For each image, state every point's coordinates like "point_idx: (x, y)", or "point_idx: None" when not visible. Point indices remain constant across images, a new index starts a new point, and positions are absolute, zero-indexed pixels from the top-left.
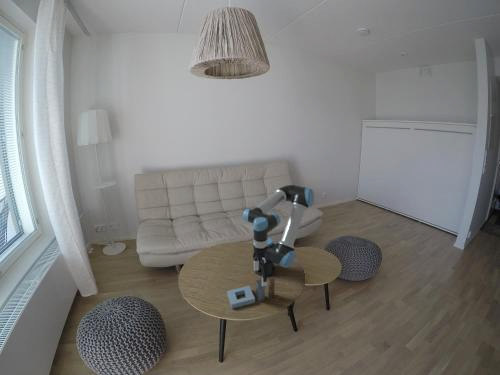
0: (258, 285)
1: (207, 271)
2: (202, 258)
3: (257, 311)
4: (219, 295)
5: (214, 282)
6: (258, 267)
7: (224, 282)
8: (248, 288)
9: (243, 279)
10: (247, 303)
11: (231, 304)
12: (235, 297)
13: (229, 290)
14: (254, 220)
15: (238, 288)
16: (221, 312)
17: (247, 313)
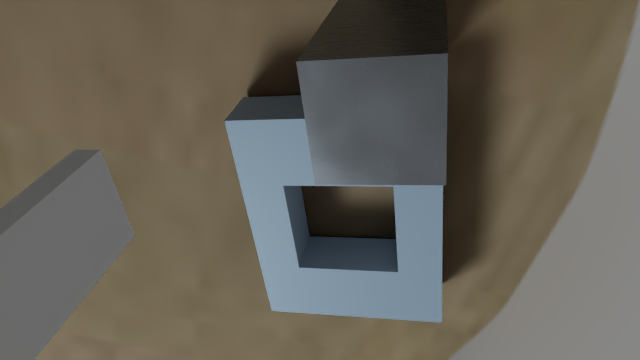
0: (445, 177)
1: None
2: None
3: (570, 95)
4: (277, 319)
5: (141, 317)
6: (52, 197)
7: (140, 263)
8: (266, 140)
9: (93, 114)
10: None
11: (440, 321)
12: (367, 277)
13: (269, 295)
14: None
15: (253, 227)
16: (448, 344)
17: (547, 190)
